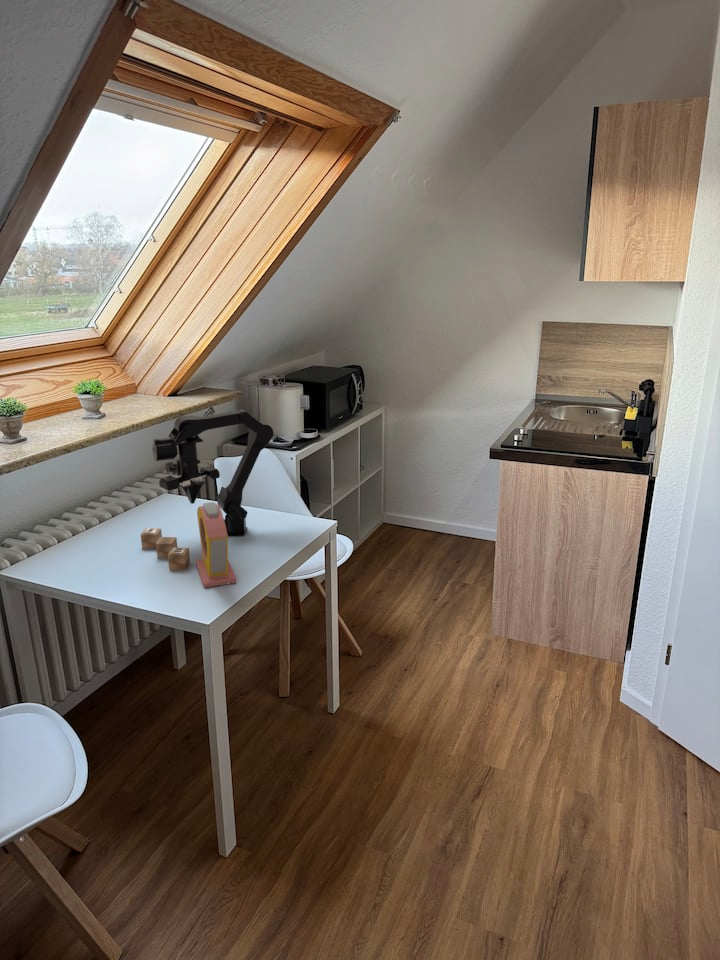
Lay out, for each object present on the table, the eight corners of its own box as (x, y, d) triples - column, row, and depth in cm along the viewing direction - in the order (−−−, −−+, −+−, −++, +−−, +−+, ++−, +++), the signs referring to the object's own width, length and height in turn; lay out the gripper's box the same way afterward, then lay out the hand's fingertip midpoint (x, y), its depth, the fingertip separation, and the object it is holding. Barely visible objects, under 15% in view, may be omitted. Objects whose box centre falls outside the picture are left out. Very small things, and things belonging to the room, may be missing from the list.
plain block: (177, 551, 218) (176, 537, 217) (173, 558, 214) (171, 543, 212) (162, 551, 218) (160, 537, 217) (157, 558, 214) (155, 543, 212)
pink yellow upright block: (194, 561, 211) (188, 494, 204) (224, 556, 214) (220, 491, 208) (205, 593, 192) (199, 521, 185) (238, 587, 195) (234, 516, 188)
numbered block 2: (190, 562, 210) (188, 546, 209) (185, 570, 206) (184, 553, 204) (174, 562, 211) (172, 546, 209) (169, 569, 206) (167, 553, 204)
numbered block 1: (162, 542, 225) (160, 527, 223) (157, 549, 220) (156, 533, 219) (147, 542, 225) (145, 527, 223) (142, 548, 220) (140, 533, 219)
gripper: (200, 446, 229) (204, 490, 234) (148, 457, 216) (153, 504, 221) (219, 452, 221) (222, 498, 226) (166, 465, 209) (170, 513, 214)
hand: (192, 503), depth 222 cm, fingers closed
